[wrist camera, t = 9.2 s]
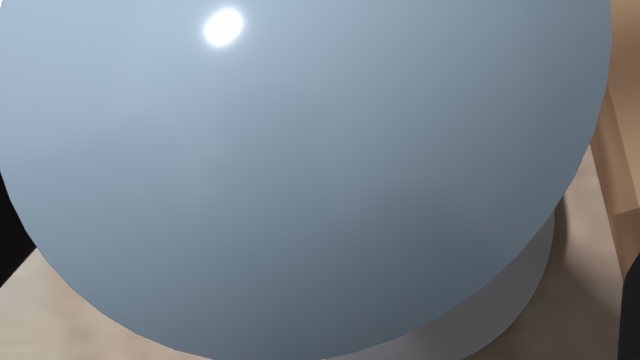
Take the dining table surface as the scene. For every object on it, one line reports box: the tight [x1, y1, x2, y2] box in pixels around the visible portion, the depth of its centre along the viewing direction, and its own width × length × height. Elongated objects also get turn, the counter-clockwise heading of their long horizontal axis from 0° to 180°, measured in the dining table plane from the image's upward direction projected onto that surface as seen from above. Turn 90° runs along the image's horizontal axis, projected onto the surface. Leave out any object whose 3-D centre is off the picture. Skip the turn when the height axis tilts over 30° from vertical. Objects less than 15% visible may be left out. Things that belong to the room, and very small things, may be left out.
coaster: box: [326, 211, 555, 360], centre depth 17 cm, size 10×10×1 cm
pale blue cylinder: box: [0, 0, 612, 360], centre depth 10 cm, size 5×5×13 cm
